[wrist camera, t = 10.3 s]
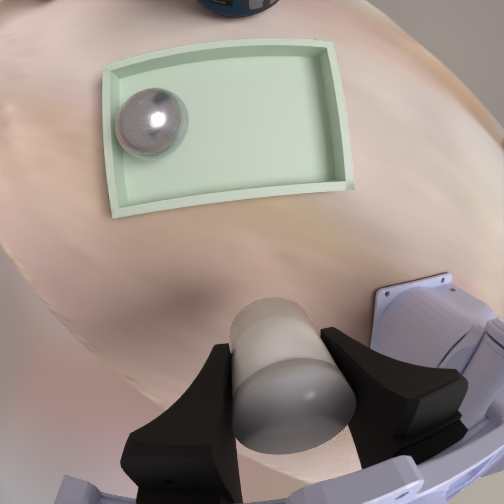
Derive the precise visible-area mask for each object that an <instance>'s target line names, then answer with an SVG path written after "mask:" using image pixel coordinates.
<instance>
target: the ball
mask: <svg viewBox="0 0 504 504" xmlns="http://www.w3.org/2000/svg"><path fill="white" fill-rule="evenodd" d="M188 126H189V115H188V111H187V108H186V106H185V104H184V102H183V101H182V100H181V99H180V97H178V96H177V95H176V94H175V93H173V92H171V91H169V90H166V89H162V88H148V89H144V90H141V91H139V92H137V93H135V94H134V95H132V96H131V97H130V98H128V99H127V100H126V101H125V103H124V104H123V105H122V107H121V108H120V110H119V112H118V115H117V118H116V124H115V130H116V136H117V139H118V141H119V143H120V145H121V146H122V148H123V149H124V150H125V151H126V152H127V153H129V154H130V155H132V156H134V157H136V158H139V159H144V160H155V159H159V158H162V157H165V156H167V155H169V154H170V153H172V152H173V151H174V150H176V149H177V148H178V147H179V146H180V144H181V143H182V142H183V140H184V138H185V136H186V134H187V131H188Z"/></svg>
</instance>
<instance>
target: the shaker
mask: <svg viewBox="0 0 504 504" xmlns="http://www.w3.org/2000/svg"><path fill="white" fill-rule="evenodd" d="M230 353H231V378H232V406H231V408H232V428H233V433H234V435H235V437H236V438H237V440H238V441H239V442H240V443H241V444H243V445H244V446H245V447H247V448H249V449H251V450H254V451H257V452H260V453H266V454H292V453H297V452H302V451H305V450H309V449H312V448H314V447H317V446H319V445H321V444H323V443H325V442H327V441H328V440H330V439H332V438H333V437H334V436H336V435H337V434H338V433H339V432H341V431H342V430H343V429H344V428H345V427H346V425H347V424H348V423H349V422H350V420H351V419H352V417H353V415H354V412H355V409H356V397H355V394H354V392H353V391H352V389H351V387H350V385H349V384H348V382H347V380H346V378H345V377H344V375H343V373H342V372H341V371H340V370H339V369H338V367H337V365H336V364H335V362H334V360H333V358H332V357H331V355H330V353H329V351H328V350H327V348H326V346H325V344H324V343H323V341H322V339H321V337H320V336H319V334H318V332H317V330H316V329H315V327H314V325H313V323H312V322H311V320H310V318H309V317H308V315H307V313H306V312H305V310H304V309H303V308H302V307H301V306H299V305H298V304H297V303H295V302H293V301H291V300H288V299H284V298H265V299H261V300H258V301H255V302H253V303H251V304H249V305H248V306H246V307H245V308H244V309H242V310H241V311H240V312H239V313H238V315H237V316H236V317H235V319H234V321H233V323H232V326H231V330H230Z"/></svg>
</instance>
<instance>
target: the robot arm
mask: <svg viewBox="0 0 504 504" xmlns="http://www.w3.org/2000/svg"><path fill="white" fill-rule="evenodd" d="M441 279H442V280H441ZM451 281H452V274H450V273H445V274H441V275H437V276H433V277H429V278H425V279H421V280H416V281H412V282H408V283H403V284H399V285H394V286H390V287H385V288H381V289H379V290H378V291H377V292H376V298H375V310H374V320H373V328H372V337H371V344H370V348H368V347H366V346H364V345H363V344H361V343H359V342H357V341H356V340H354V339H352V338H351V337H349V336H347V335H346V334H344V333H342V332H341V331H339V330H338V329H336V328H334V327H329V328H324V329H321V335H320V337H321V339H322V341H323V343H324V344H325V346H326V348H327V350H328V351H329V353H330V355H331V357H332V358H333V360H334V362H335V364H336V365H337V367H338V369H339V370H340V371H341V372H342V373H343V375H344V377H345V378H346V380H347V382H348V384H349V385H350V387H351V389H352V391H353V392H354V394H355V397H356V409H355V412H354V415H353V417H352V419H351V420H350V422H349V423H348V426H349V429H350V432H351V434H352V437H353V440H354V443H355V447H356V450H357V453H358V456H359V460H360V463H361V467H362V470H359V471H356V472H353V473H350V474H347V475H343V476H340V477H337V478H333V479H329V480H325V481H321V482H318V483H315V484H312V485H309V486H305V487H303V488H301V489H299V490H297V491H295V492H293V493H292V494H291V495H290V496H289V497H288V498H284V499H278V500H270V501H263V502H253V503H243V500H242V493H241V485H240V477H239V469H238V461H237V450H236V439H235V435H234V433H233V428H232V408H231V406H232V378H231V354H230V349H229V343H226V344H216V345H214V347H213V349H212V351H211V353H210V355H209V357H208V359H207V361H206V363H205V364H204V366H203V368H202V369H201V371H200V373H199V374H198V376H197V377H196V378H195V380H194V381H193V383H192V384H191V385H190V387H189V388H188V389H187V390H186V392H185V393H184V394H183V395H182V396H181V397H180V398H179V399H178V400H177V401H176V402H175V403H174V404H173V405H172V406H171V407H170V408H169V409H167V410H166V411H165V412H164V413H162V414H161V415H160V416H159V417H157V418H156V419H154V420H153V421H151V422H150V423H148V424H146V425H145V426H143V427H141V428H139V429H137V430H136V431H134V432H132V433H130V435H129V437H128V439H127V442H126V444H125V447H124V450H123V454H122V458H121V461H120V463H121V468H122V469H123V471H124V472H125V473H126V474H127V475H128V476H129V477H130V479H131V480H132V481H133V482H134V483H135V484H136V485H137V486H138V493H137V498H136V499H133V498H128V497H122V496H117V495H112V494H108V493H104V492H100V490H98V488H97V487H96V486H94V485H93V484H91V483H89V482H87V481H84V480H81V479H77V478H74V477H71V476H68V475H65V476H64V477H63V480H62V483H61V486H60V488H59V491H58V494H57V497H56V500H55V503H54V504H448V502H447V501H448V500H450V499H451V498H453V497H454V496H455V495H457V494H458V493H460V492H461V491H462V490H463V489H465V488H466V487H468V486H469V485H470V484H471V483H473V482H474V481H475V480H477V479H478V478H479V477H483V476H487V475H490V474H494V473H497V472H500V471H502V470H504V318H502V317H496V315H495V313H494V311H493V310H492V309H491V307H490V306H489V305H487V304H486V303H485V302H483V301H481V300H480V299H478V298H476V297H475V296H473V295H471V294H469V293H468V292H466V291H464V290H462V289H461V288H459V287H457V286H455V285H454V284H452V283H451ZM386 292H387V294H386V295H385V293H386Z"/></svg>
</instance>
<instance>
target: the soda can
mask: <svg viewBox="0 0 504 504" xmlns="http://www.w3.org/2000/svg"><path fill="white" fill-rule="evenodd" d="M198 1H199V2H200V3H201V4H202V5H203V6H205V7H206V8H208V9H210V10H212V11H214V12H217V13H219V14H222V15H227V16H237V17H239V16H248V15H253V14H256V13H259V12H261V11H264V10H266V9H268V8H270V7H272V6H273V5H274V4H276V3H277V2H278V1H279V0H198Z"/></svg>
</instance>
